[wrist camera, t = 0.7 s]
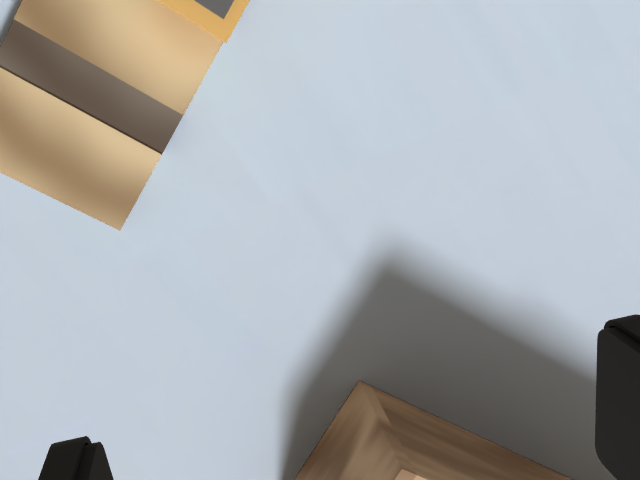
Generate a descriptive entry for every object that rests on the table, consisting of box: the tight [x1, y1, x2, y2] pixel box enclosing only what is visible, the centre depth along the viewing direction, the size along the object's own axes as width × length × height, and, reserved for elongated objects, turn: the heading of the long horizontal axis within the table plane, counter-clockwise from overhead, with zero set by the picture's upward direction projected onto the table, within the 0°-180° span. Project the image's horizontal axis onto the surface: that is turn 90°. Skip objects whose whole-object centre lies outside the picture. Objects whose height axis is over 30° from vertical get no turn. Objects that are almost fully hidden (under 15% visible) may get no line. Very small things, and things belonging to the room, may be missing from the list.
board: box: [0, 0, 223, 230], centre depth 31 cm, size 22×9×1 cm, turn 148°
